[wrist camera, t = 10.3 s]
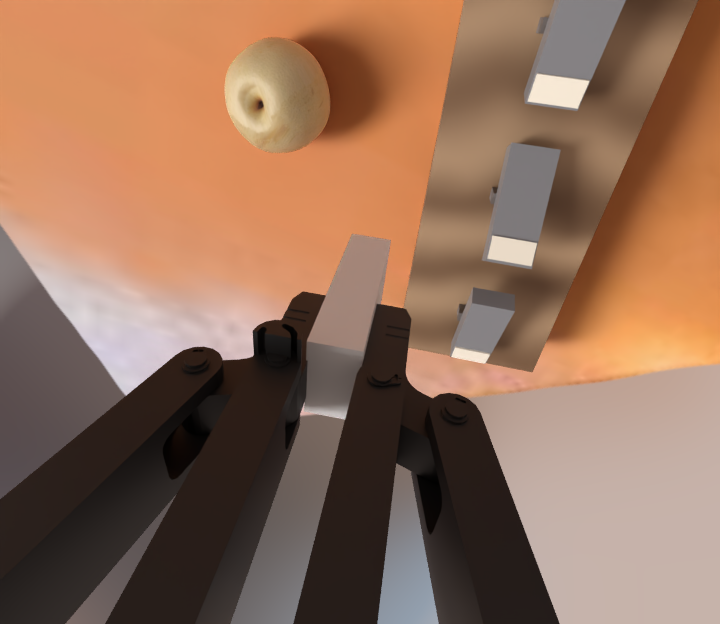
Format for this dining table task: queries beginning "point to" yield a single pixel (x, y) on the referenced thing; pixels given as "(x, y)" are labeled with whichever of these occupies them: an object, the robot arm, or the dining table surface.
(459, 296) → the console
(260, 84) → the apple
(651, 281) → the dining table surface
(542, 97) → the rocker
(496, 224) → the block
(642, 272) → the dining table surface
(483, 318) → the block
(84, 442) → the robot arm
